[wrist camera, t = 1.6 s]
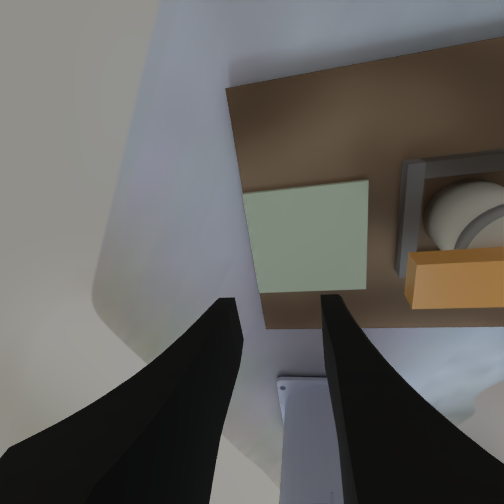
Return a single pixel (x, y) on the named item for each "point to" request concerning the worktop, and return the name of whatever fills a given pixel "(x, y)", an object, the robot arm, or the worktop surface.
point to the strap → (455, 278)
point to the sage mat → (309, 237)
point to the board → (378, 162)
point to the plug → (466, 215)
